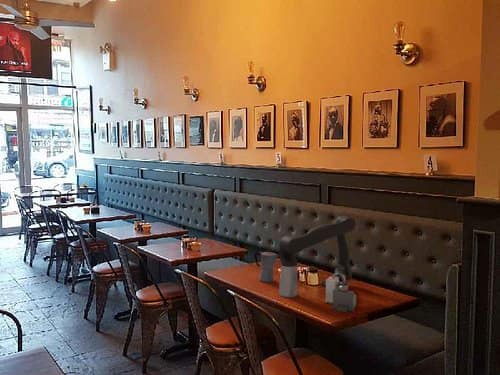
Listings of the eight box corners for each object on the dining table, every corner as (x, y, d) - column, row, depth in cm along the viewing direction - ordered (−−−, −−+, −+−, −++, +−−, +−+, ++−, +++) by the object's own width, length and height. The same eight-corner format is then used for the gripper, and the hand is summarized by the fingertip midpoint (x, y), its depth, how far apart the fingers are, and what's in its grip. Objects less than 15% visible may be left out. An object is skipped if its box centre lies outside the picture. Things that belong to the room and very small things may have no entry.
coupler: (331, 310, 240) (332, 286, 240) (336, 303, 252) (337, 280, 251) (352, 312, 237) (352, 288, 236) (355, 305, 248) (356, 282, 248)
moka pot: (277, 283, 290) (277, 251, 288) (252, 282, 292) (253, 250, 291) (278, 279, 299) (279, 248, 298) (254, 278, 302) (255, 247, 300)
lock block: (325, 302, 254) (326, 279, 253) (329, 297, 263) (329, 275, 262) (334, 303, 252) (335, 280, 251) (338, 298, 261) (338, 276, 260)
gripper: (325, 272, 275) (319, 279, 260) (350, 275, 270) (345, 282, 255) (325, 285, 275) (319, 292, 260) (350, 288, 270) (345, 295, 255)
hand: (332, 287), depth 257 cm, fingers open, 8 cm apart
